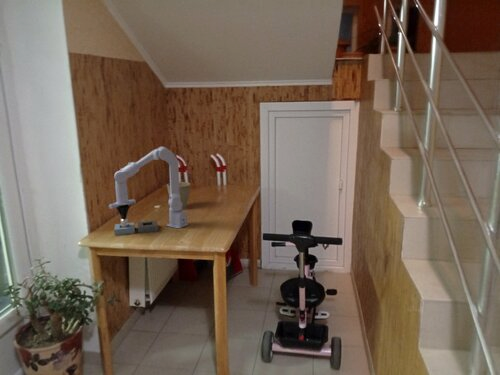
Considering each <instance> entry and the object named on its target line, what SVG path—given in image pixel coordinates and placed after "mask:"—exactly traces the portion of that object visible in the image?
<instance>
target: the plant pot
mask: <svg viewBox="0 0 500 375" xmlns="http://www.w3.org/2000/svg"><path fill="white" fill-rule="evenodd" d="M166 187H167V193H168V197H170V182H169V183H167V184H166ZM190 192H191V183H190V182H187V181H179V194H180V199H181V202H182V210H185V209H186V208H187V204H188V202H189V198H190Z"/></svg>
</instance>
